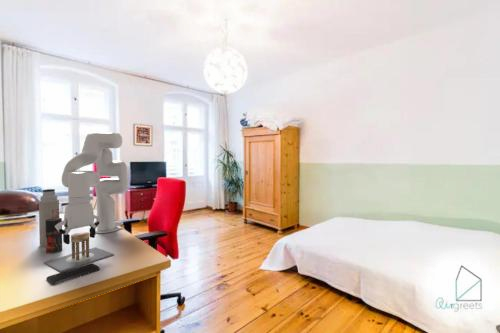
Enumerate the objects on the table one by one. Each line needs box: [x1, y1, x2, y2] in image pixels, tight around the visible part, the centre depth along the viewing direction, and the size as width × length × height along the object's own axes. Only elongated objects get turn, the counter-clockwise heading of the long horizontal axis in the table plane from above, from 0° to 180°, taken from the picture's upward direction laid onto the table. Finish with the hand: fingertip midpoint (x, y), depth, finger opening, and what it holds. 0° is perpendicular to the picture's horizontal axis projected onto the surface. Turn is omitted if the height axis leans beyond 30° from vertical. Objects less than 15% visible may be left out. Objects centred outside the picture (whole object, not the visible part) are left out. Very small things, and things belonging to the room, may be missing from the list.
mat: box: [43, 247, 115, 273], centre depth 105 cm, size 20×16×1 cm
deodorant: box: [45, 217, 63, 255], centre depth 114 cm, size 6×6×15 cm
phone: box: [46, 263, 101, 286], centre depth 90 cm, size 8×1×15 cm
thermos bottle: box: [38, 188, 60, 248], centre depth 124 cm, size 8×8×28 cm
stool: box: [70, 231, 90, 260], centre depth 105 cm, size 6×6×10 cm
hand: (80, 240), depth 105 cm, fingers open, 9 cm apart
